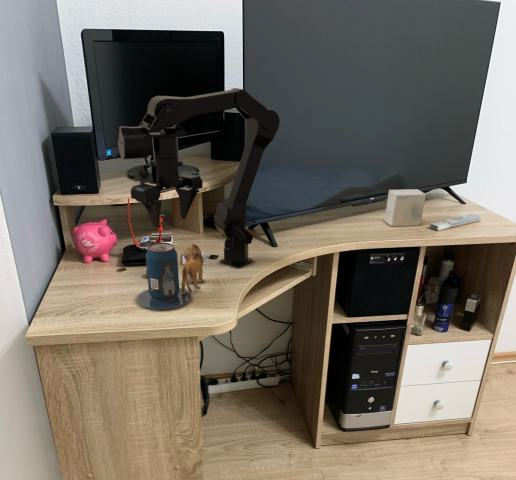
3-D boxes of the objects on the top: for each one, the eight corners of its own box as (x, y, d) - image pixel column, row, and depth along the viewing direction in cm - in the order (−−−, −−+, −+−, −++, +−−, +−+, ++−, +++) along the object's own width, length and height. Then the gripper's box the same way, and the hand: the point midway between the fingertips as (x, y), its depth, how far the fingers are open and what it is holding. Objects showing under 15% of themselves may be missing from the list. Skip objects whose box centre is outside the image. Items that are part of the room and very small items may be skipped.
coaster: (164, 284, 132) (164, 282, 132) (201, 297, 126) (200, 295, 126) (126, 300, 124) (126, 298, 124) (163, 315, 118) (163, 313, 117)
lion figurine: (183, 277, 137) (181, 242, 134) (204, 276, 138) (203, 241, 134) (180, 295, 124) (178, 257, 120) (203, 295, 124) (202, 257, 121)
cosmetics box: (391, 226, 176) (396, 194, 171) (383, 221, 182) (388, 189, 177) (421, 225, 178) (426, 193, 173) (412, 219, 184) (417, 188, 179)
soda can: (161, 288, 129) (157, 239, 123) (185, 294, 126) (183, 244, 120) (143, 298, 123) (138, 248, 117) (168, 305, 121) (164, 254, 115)
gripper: (170, 146, 136) (173, 208, 143) (111, 157, 122) (118, 224, 130) (203, 152, 130) (204, 216, 138) (145, 164, 117) (150, 234, 125)
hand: (170, 222), depth 133 cm, fingers open, 9 cm apart
